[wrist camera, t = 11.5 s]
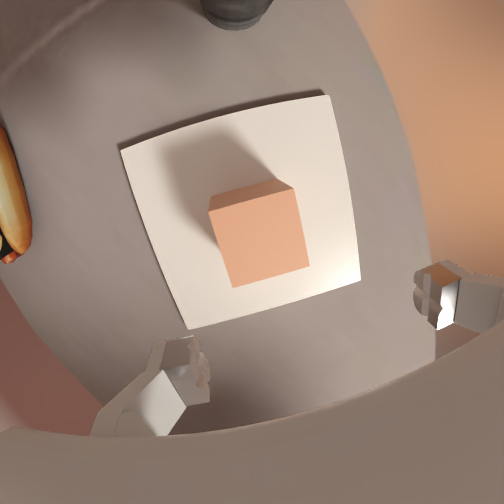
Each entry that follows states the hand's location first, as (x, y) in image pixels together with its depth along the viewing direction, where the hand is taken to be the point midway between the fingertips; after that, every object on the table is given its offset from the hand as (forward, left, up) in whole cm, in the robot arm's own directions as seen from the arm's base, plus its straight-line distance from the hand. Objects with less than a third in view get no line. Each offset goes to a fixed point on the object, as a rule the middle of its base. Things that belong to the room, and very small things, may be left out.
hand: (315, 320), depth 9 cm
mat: (0, +1, -14) cm, 14 cm away
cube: (0, +1, -13) cm, 13 cm away
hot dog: (+11, +21, -14) cm, 27 cm away
